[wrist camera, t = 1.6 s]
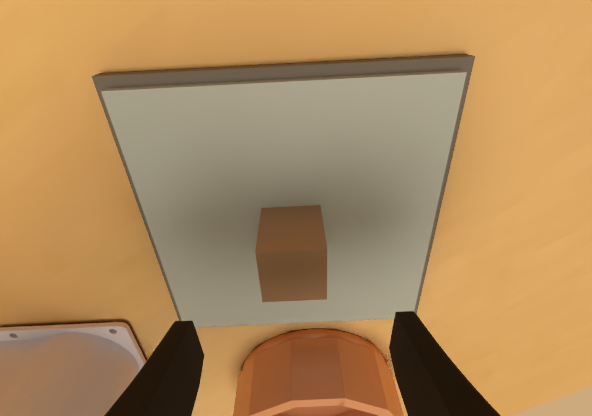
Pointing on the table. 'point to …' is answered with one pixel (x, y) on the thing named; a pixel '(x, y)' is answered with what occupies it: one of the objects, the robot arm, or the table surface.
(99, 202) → the table surface
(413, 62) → the mat
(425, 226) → the lid
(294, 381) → the bowl
